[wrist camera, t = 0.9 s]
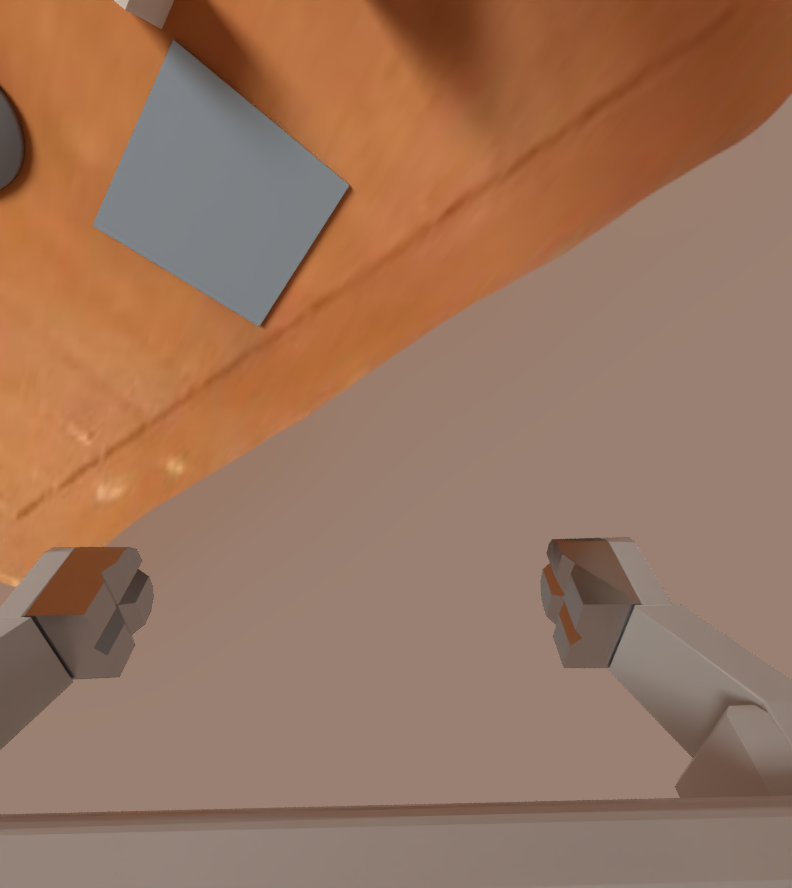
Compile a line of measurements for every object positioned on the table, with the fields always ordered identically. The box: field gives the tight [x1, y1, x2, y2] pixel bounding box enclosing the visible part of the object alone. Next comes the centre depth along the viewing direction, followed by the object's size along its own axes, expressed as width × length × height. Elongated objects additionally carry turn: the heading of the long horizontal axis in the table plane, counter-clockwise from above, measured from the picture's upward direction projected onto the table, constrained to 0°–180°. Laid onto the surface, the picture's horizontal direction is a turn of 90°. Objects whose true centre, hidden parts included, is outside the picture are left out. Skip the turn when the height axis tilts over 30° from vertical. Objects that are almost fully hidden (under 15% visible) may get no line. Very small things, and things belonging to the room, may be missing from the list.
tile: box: [93, 40, 349, 326], centre depth 43 cm, size 16×16×1 cm
